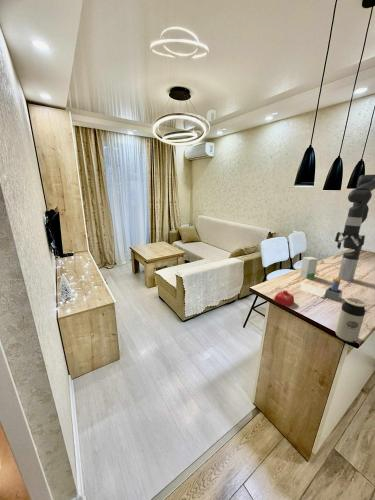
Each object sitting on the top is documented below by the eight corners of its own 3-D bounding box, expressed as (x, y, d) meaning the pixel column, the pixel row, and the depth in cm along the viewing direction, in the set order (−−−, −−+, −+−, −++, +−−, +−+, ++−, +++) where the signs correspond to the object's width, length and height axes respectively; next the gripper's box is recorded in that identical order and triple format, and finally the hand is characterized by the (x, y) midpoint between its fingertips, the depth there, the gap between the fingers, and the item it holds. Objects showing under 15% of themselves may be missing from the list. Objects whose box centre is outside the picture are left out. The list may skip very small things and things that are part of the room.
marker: (330, 294, 132) (334, 276, 128) (337, 297, 129) (341, 278, 125) (328, 296, 129) (332, 278, 126) (335, 299, 127) (339, 280, 123)
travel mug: (336, 328, 100) (344, 294, 95) (357, 335, 95) (367, 300, 90) (334, 337, 94) (343, 301, 89) (356, 345, 89) (367, 308, 84)
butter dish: (288, 311, 114) (291, 297, 112) (269, 303, 122) (271, 290, 120) (297, 304, 121) (300, 291, 119) (278, 297, 129) (280, 284, 127)
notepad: (301, 283, 149) (301, 282, 149) (330, 292, 136) (331, 291, 136) (293, 289, 140) (293, 287, 140) (323, 299, 127) (323, 297, 127)
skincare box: (305, 279, 156) (309, 259, 151) (299, 276, 162) (302, 257, 158) (314, 278, 158) (318, 258, 154) (307, 275, 164) (311, 256, 160)
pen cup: (328, 293, 134) (329, 286, 133) (340, 298, 129) (342, 290, 128) (324, 297, 130) (325, 290, 128) (337, 301, 125) (339, 294, 123)
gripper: (369, 225, 124) (362, 251, 128) (340, 222, 134) (335, 246, 139) (366, 226, 119) (359, 253, 124) (337, 223, 129) (332, 248, 134)
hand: (347, 250), depth 131 cm, fingers open, 8 cm apart
